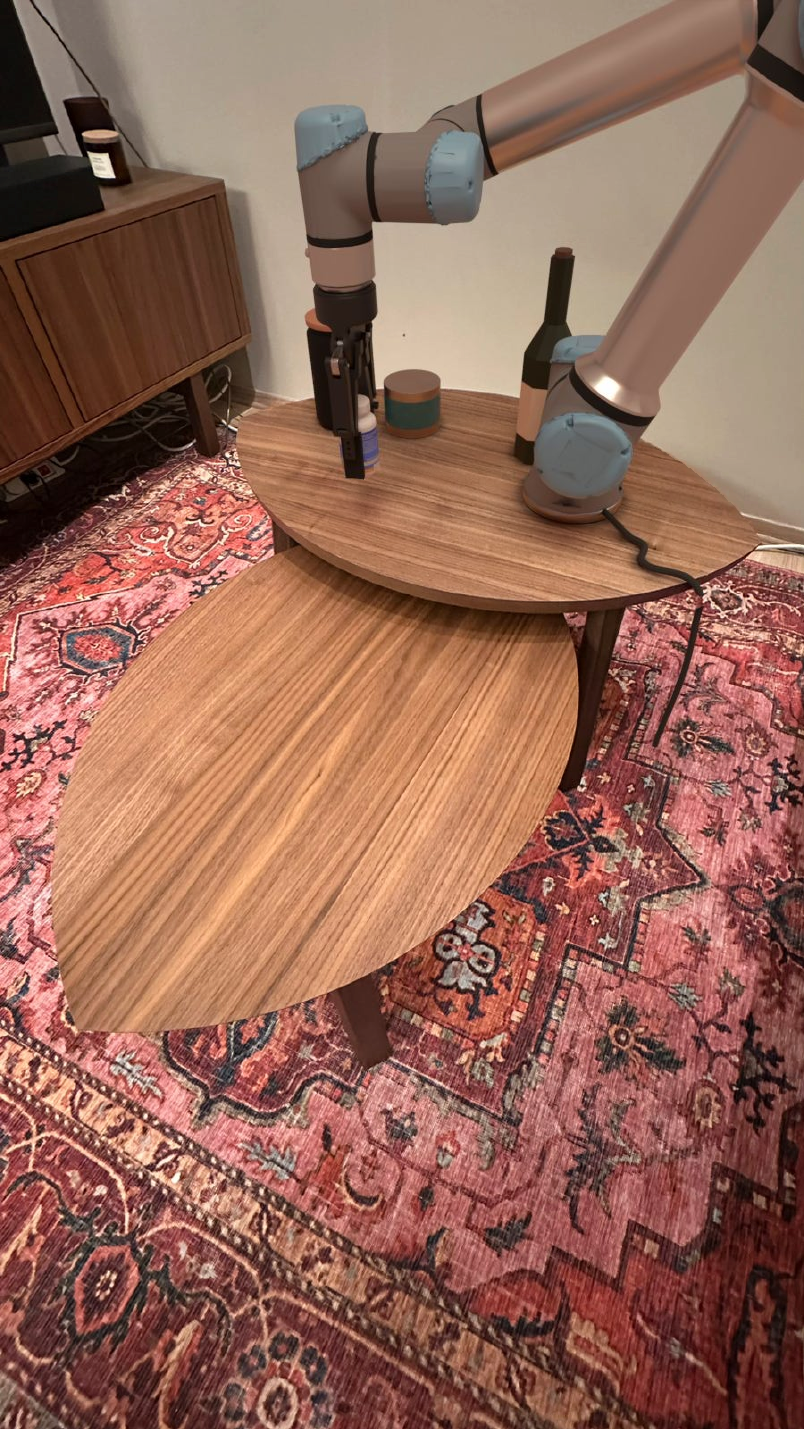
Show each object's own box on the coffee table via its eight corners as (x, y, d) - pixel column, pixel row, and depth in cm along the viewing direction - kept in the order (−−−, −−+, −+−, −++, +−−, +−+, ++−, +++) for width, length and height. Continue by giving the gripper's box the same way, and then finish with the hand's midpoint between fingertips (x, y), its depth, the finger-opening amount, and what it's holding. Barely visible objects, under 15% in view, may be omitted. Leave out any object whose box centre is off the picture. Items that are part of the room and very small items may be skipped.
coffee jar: (341, 402, 133) (331, 299, 119) (385, 416, 128) (380, 310, 115) (305, 424, 127) (290, 318, 114) (350, 439, 123) (340, 330, 109)
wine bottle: (503, 456, 117) (521, 251, 95) (531, 438, 121) (554, 237, 99) (544, 471, 113) (574, 262, 91) (571, 452, 117) (606, 247, 95)
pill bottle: (382, 459, 99) (377, 391, 92) (377, 478, 96) (372, 409, 89) (345, 459, 100) (338, 391, 93) (339, 478, 96) (331, 409, 89)
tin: (450, 430, 124) (451, 385, 118) (400, 443, 121) (398, 398, 115) (424, 408, 130) (424, 364, 124) (376, 420, 127) (373, 376, 121)
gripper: (335, 257, 87) (353, 434, 104) (287, 308, 75) (316, 498, 92) (393, 258, 86) (401, 437, 103) (353, 310, 74) (369, 503, 91)
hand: (361, 466), depth 98 cm, fingers closed on pill bottle, 5 cm apart
